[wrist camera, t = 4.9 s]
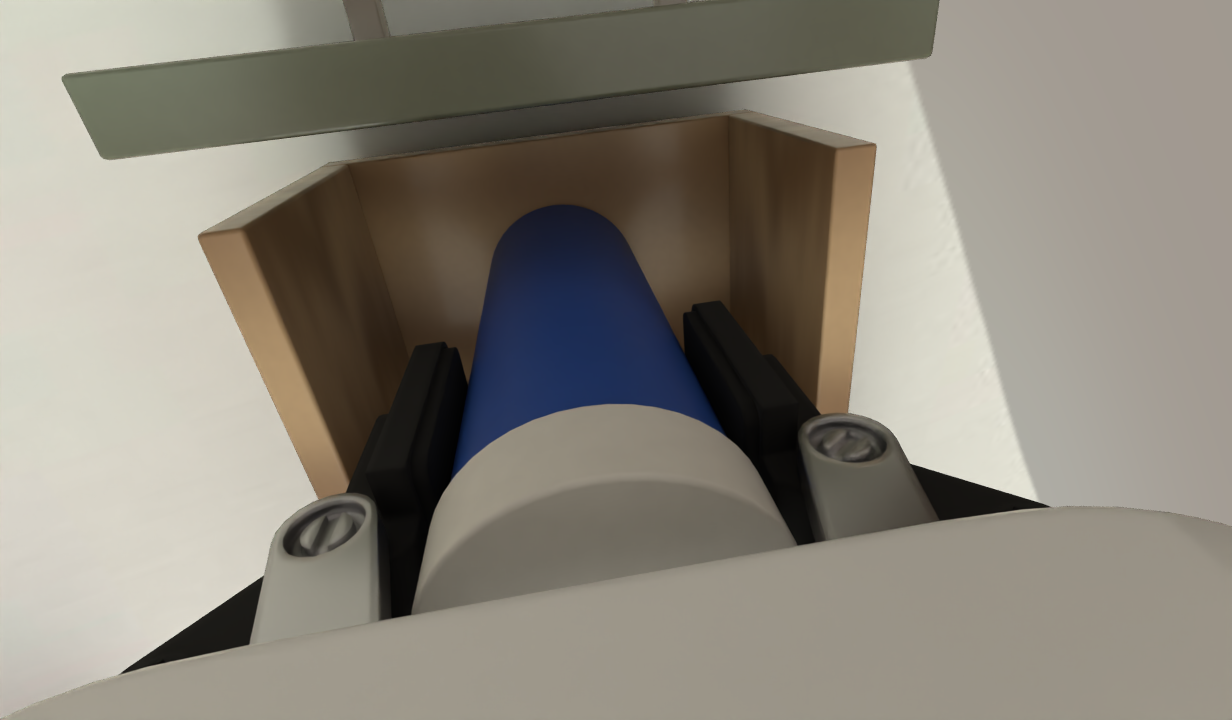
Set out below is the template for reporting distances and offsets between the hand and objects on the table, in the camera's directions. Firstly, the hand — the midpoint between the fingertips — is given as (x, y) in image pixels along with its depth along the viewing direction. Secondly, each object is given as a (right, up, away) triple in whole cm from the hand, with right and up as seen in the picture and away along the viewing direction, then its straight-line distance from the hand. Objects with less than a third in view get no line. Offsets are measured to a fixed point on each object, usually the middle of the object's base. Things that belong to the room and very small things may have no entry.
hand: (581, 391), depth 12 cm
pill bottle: (-1, +3, +6) cm, 7 cm away
